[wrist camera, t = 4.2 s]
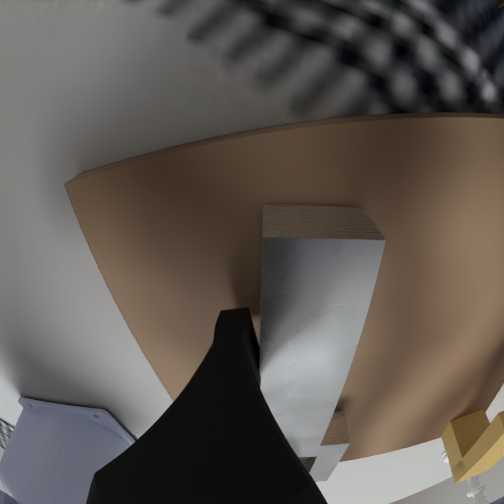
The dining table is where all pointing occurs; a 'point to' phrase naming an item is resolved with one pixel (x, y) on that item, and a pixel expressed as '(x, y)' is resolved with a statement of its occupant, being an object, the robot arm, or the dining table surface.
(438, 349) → the board
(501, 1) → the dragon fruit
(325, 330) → the link
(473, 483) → the chess piece
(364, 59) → the dining table surface
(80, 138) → the dining table surface
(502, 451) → the block
